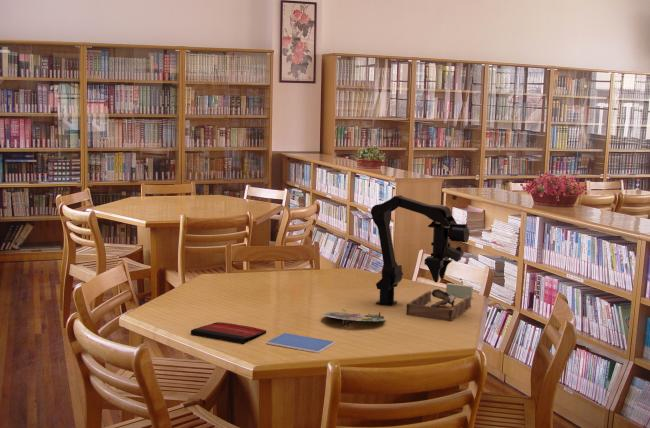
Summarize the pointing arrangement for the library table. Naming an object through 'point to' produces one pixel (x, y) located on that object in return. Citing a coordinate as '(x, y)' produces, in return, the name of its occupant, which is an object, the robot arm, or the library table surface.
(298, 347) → the blue book
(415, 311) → the crate
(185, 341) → the library table surface
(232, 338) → the binder
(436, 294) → the eagle figurine
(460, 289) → the stop rail
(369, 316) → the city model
